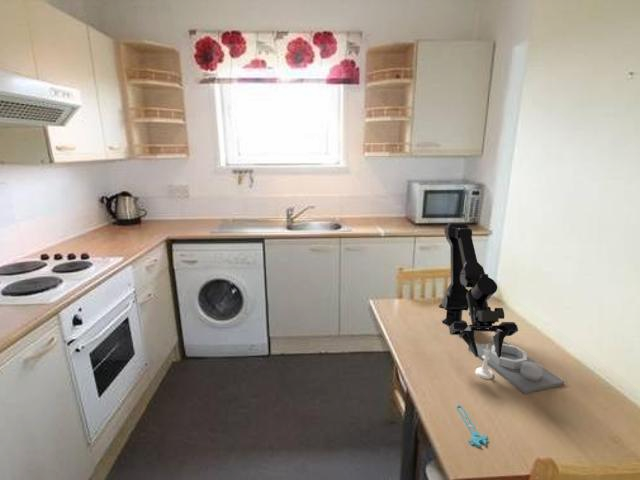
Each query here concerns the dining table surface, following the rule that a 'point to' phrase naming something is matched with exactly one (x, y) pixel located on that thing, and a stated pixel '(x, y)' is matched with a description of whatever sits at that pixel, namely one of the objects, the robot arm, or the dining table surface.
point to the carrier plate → (519, 368)
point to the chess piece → (485, 366)
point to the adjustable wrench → (476, 436)
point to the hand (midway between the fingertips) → (488, 357)
